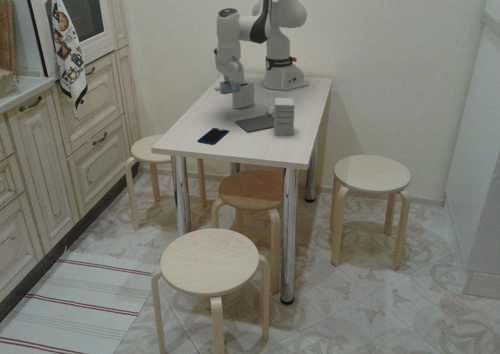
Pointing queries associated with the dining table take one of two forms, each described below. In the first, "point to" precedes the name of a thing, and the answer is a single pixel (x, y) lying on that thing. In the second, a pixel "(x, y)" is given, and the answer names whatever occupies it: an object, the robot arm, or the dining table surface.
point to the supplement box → (284, 116)
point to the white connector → (270, 108)
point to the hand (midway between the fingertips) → (230, 87)
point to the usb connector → (228, 87)
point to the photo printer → (244, 95)
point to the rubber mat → (256, 123)
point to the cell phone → (213, 136)
